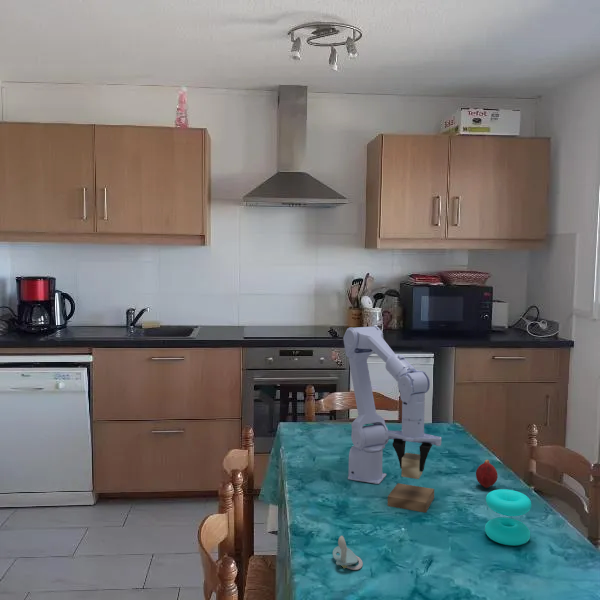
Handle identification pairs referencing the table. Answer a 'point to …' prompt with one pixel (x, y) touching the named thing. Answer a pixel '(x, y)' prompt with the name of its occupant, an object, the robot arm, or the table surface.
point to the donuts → (504, 527)
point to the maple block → (411, 466)
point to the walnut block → (411, 497)
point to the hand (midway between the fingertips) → (412, 468)
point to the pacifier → (346, 556)
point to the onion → (486, 474)
